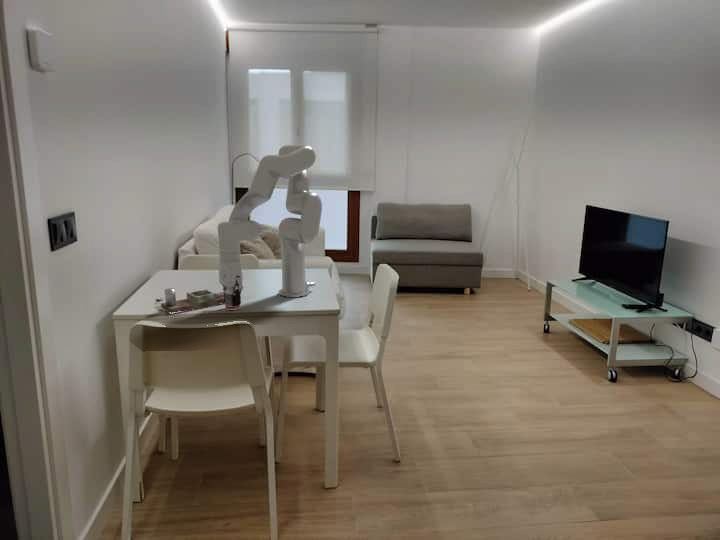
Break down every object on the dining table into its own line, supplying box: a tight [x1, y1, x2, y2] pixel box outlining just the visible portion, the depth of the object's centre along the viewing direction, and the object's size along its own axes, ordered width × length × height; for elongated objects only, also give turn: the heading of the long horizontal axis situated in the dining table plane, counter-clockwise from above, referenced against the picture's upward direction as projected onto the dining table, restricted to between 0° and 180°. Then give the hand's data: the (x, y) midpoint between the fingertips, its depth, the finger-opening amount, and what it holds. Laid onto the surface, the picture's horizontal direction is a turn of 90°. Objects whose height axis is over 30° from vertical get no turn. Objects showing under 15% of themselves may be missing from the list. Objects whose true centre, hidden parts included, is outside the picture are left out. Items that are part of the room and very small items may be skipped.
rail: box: [160, 288, 225, 313], centre depth 205 cm, size 28×9×4 cm, turn 131°
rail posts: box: [164, 287, 177, 307], centre depth 204 cm, size 28×4×6 cm, turn 131°
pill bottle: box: [224, 285, 241, 311], centre depth 199 cm, size 5×5×10 cm
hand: (232, 302), depth 200 cm, fingers closed on pill bottle, 5 cm apart
